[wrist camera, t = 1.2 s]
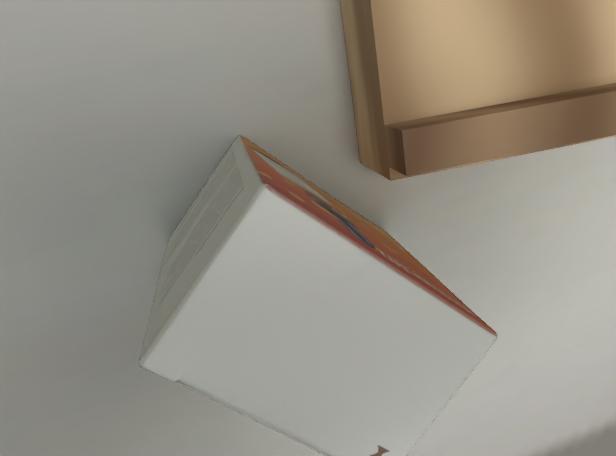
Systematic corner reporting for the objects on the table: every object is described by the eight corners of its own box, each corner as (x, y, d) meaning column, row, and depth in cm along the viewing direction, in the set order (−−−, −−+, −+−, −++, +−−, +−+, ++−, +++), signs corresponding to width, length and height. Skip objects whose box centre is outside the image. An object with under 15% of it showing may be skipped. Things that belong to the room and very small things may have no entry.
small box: (386, 231, 25) (509, 339, 15) (315, 329, 26) (387, 495, 16) (237, 129, 22) (265, 177, 12) (163, 240, 23) (133, 370, 13)
